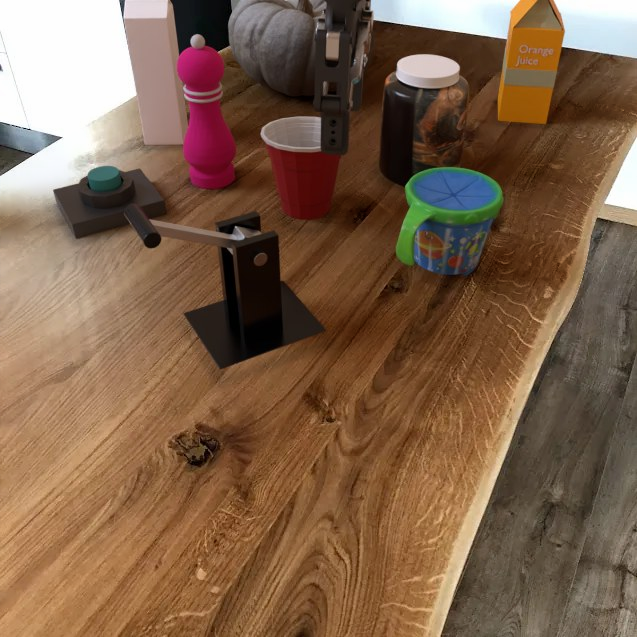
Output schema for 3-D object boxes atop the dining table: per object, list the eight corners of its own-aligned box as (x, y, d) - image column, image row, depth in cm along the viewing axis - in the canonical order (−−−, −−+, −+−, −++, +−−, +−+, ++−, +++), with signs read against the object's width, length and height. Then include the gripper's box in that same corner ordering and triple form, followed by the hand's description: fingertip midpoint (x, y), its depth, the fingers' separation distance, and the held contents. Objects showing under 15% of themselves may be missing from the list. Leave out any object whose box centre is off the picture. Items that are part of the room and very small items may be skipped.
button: (95, 195, 93) (92, 183, 92) (86, 182, 95) (83, 170, 94) (125, 187, 94) (123, 175, 93) (116, 174, 97) (114, 163, 96)
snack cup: (460, 223, 94) (470, 151, 87) (523, 261, 87) (539, 186, 81) (365, 265, 87) (369, 189, 80) (426, 310, 80) (434, 231, 74)
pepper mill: (225, 195, 100) (210, 47, 87) (178, 186, 102) (157, 41, 89) (246, 170, 105) (235, 28, 92) (201, 163, 107) (184, 22, 94)
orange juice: (543, 102, 123) (568, -25, 110) (546, 124, 116) (574, -8, 104) (496, 99, 124) (515, -28, 111) (496, 120, 117) (517, -11, 105)
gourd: (195, 69, 128) (204, -37, 118) (291, 55, 145) (306, -39, 135) (298, 124, 117) (319, 12, 106) (389, 102, 133) (414, 3, 123)
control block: (75, 239, 91) (68, 211, 89) (56, 203, 98) (49, 177, 96) (167, 214, 96) (162, 187, 93) (142, 182, 103) (137, 156, 100)
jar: (365, 178, 103) (369, 73, 94) (395, 144, 111) (401, 44, 102) (445, 196, 99) (458, 88, 90) (470, 159, 107) (484, 57, 98)
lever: (139, 251, 62) (148, 226, 61) (120, 221, 66) (128, 197, 65) (267, 271, 70) (276, 249, 69) (243, 243, 74) (252, 222, 73)
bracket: (221, 378, 72) (207, 273, 64) (184, 322, 79) (168, 220, 71) (326, 339, 77) (326, 236, 68) (283, 289, 83) (279, 190, 75)
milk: (151, 129, 116) (126, -20, 102) (189, 128, 116) (169, -20, 102) (144, 146, 111) (118, -7, 97) (184, 145, 111) (163, -8, 98)
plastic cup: (355, 198, 99) (357, 114, 91) (338, 241, 91) (340, 153, 83) (277, 189, 101) (274, 106, 93) (255, 231, 93) (248, 143, 85)
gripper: (314, -104, 58) (313, 93, 68) (277, -61, 47) (281, 165, 58) (409, -99, 57) (393, 99, 68) (392, -55, 46) (376, 174, 57)
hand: (341, 129), depth 63 cm, fingers open, 8 cm apart
